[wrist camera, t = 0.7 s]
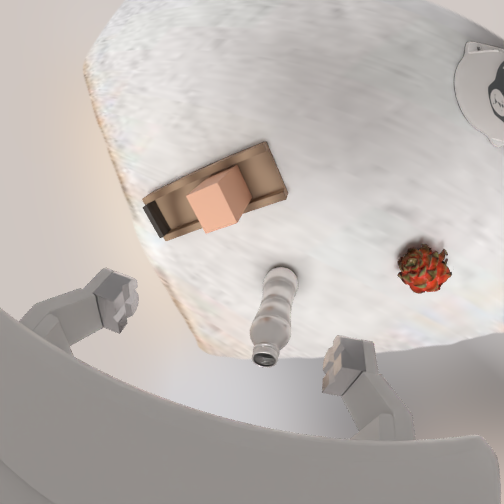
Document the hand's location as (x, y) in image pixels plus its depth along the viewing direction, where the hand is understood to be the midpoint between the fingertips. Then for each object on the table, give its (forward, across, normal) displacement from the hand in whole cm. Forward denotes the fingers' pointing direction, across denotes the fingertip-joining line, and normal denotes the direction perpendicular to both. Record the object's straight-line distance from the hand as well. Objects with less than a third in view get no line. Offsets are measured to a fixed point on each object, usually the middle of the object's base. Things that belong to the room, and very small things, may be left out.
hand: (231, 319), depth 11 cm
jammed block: (+36, +8, +8) cm, 37 cm away
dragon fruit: (+36, -29, +12) cm, 48 cm away
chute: (+37, +11, +10) cm, 40 cm away
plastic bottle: (+37, -4, +24) cm, 44 cm away
